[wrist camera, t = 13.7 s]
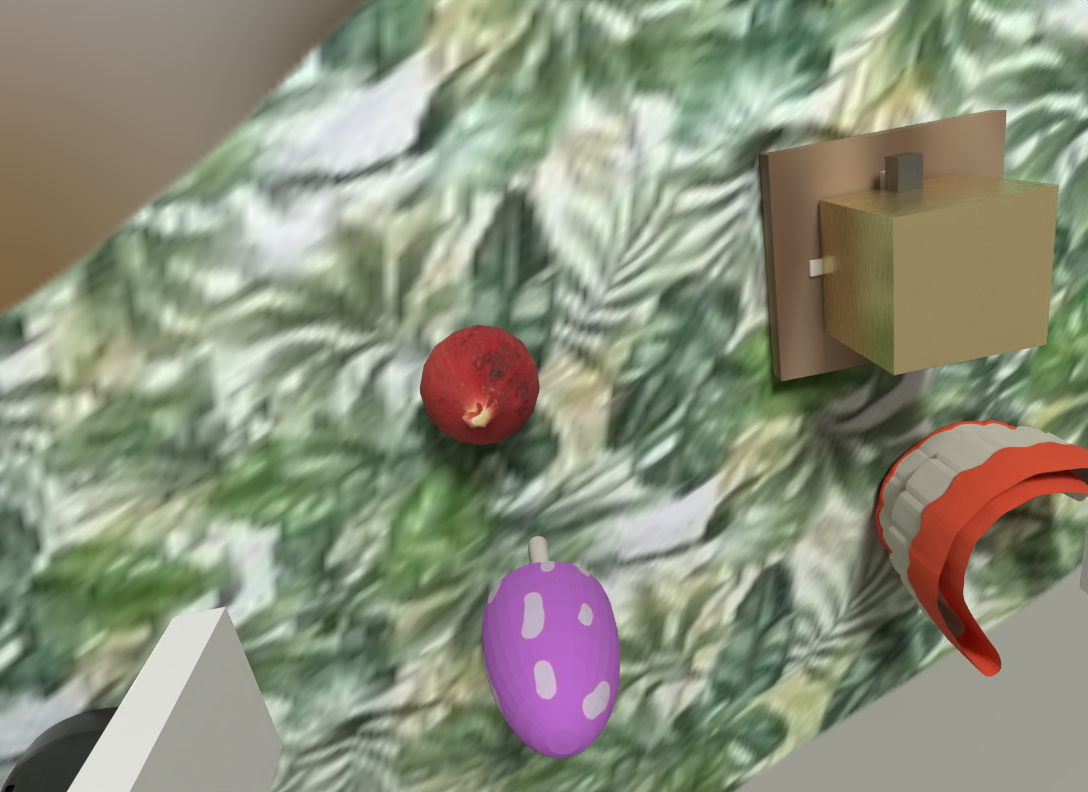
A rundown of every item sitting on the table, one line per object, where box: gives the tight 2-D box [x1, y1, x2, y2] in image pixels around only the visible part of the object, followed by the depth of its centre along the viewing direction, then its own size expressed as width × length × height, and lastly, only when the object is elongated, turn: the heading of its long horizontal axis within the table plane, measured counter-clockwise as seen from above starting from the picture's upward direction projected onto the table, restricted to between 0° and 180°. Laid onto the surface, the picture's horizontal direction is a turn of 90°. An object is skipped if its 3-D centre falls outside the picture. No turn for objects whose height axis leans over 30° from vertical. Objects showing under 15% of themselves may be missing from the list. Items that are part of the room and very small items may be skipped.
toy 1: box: [482, 536, 620, 758], centre depth 37 cm, size 7×7×15 cm
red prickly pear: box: [420, 325, 540, 445], centre depth 36 cm, size 6×6×8 cm
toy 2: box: [875, 420, 1088, 676], centre depth 41 cm, size 12×10×8 cm
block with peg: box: [819, 152, 1059, 375], centre depth 35 cm, size 10×7×7 cm
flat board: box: [759, 110, 1006, 381], centre depth 36 cm, size 12×12×6 cm
